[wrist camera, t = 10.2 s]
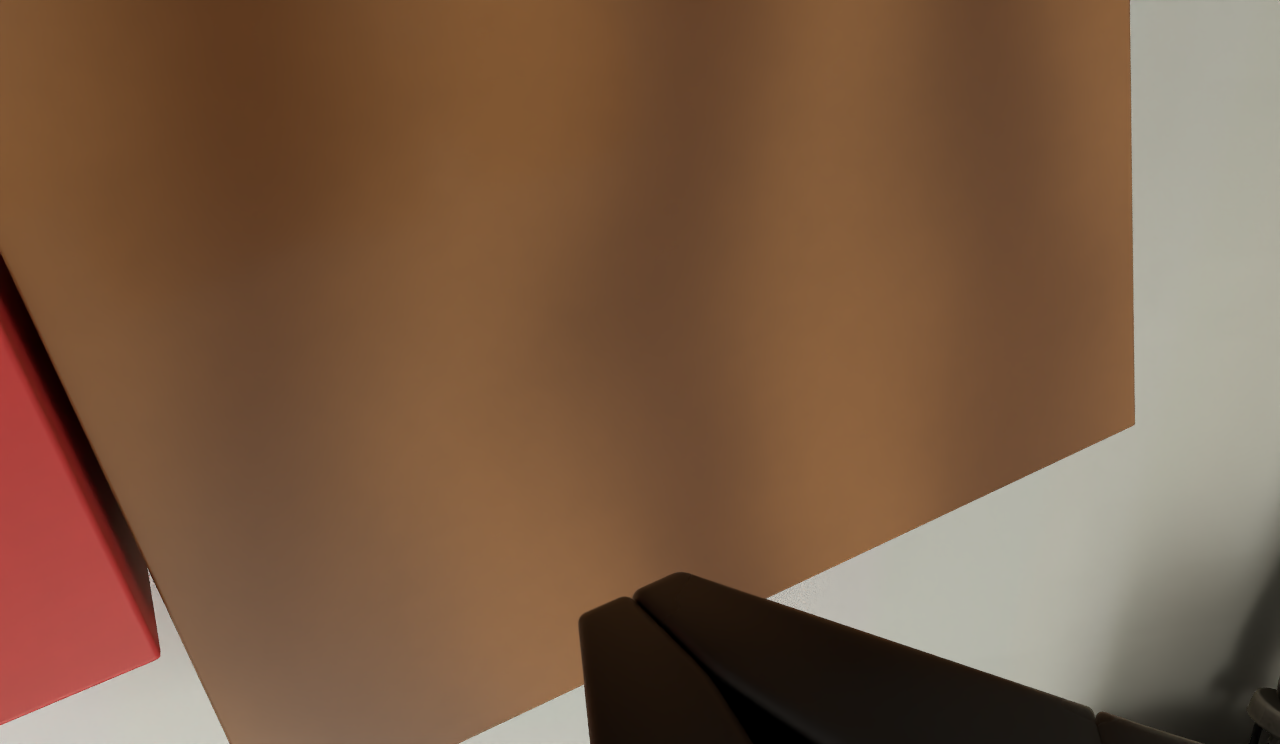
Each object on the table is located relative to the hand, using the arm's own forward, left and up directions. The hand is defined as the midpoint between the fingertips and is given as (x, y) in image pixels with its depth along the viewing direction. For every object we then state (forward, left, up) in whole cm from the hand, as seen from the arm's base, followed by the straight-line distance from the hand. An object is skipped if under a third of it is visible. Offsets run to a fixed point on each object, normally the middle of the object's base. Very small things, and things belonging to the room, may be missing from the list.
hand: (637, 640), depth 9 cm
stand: (-3, +2, -11) cm, 11 cm away
